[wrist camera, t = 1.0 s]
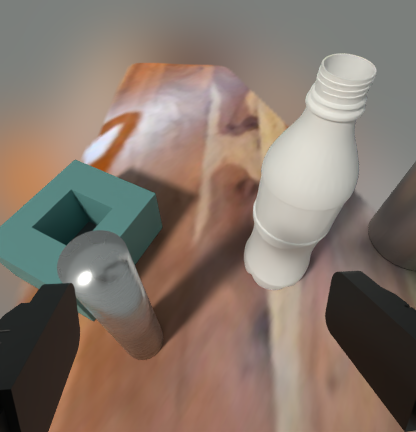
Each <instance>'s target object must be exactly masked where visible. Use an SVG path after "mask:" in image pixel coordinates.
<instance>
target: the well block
mask: <svg viewBox="0 0 416 432" xmlns="http://www.w3.org/2000/svg"><path fill="white" fill-rule="evenodd" d="M161 229H162V222H161V218H160V213H159V208H158V203H157V199H156V194H155V193H153V192H151V191H149V190H146V189H144V188H141V187H139V186H137V185H134V184H132V183H130V182H127V181H125V180H122V179H120V178H118V177H115V176H113V175H111V174H108V173H106V172H103V171H101V170H99V169H96V168H94V167H92V166H89V165H87V164H84V163H82V162H80V161H77V160H74V161H73V162H72V163H71V164H70V165H68V166H67V167H66V168H65V169H64V170H63V171H62V172H61V173H60V174H58V175H57V176H56V177H55V178H54V179H53V180H52V181H51V182H49V183H48V184H47V185H46V186H45V187H44V188H43V189H42V190H41V191H39V192H38V193H37V194H36V195H35V196H34V197H33V198H32V199H31V200H29V202H27V203H26V204H25V205H24V206H23V207H22V208H21V209H20V210H19V211H17V212H16V213H15V214H14V215H13V216H12V217H11V218H10V219H8V220H7V221H6V222H5V223H4V224H3V225H2V226H1V227H0V263H2V264H3V265H4V266H5V267H6V268H8V269H9V270H10V271H11V272H12V273H14V274H15V275H16V276H18V277H20V278H21V279H23V280H25V281H26V282H28V283H30V284H31V285H33V286H35V287H36V288H38V289H40V287H41V286H42V285H43V284H58V283H62V282H61V280H60V278H59V276H58V273H57V263H58V259H59V256H60V254H61V252H62V251H63V249H64V248H65V247H66V245H67V244H68V243H69V242H71V241H72V240H73V239H75V238H76V237H78V236H80V235H81V234H84V233H86V232H90V231H95V230H105V231H110V232H113V233H115V234H117V235H118V236H120V237H121V238H122V239H123V241H124V242H125V244H126V246H127V248H128V251H129V253H130V255H131V258H132V260H133V263H134V265H135V264H136V263H137V262H138V260H139V259H140V257H141V256H142V255H143V253H144V252H145V251H146V249H147V248H148V247H149V245H150V244H151V242H152V241H153V240H154V238H155V237H156V236H157V234H158V233H159V232H160V230H161ZM76 302H77V310H78V313H80V314H82V315H84V316H85V317H87V318H89V319H90V320H92V321H94V320H95V319H96V318H95V317H94V316H93V315H92V314H91V313H90V312H89V311H88V310H87V309H86V308H85V306H84V305H83V304H82V303H81V302H80V301H79V300H78V299H77V298H76Z"/></svg>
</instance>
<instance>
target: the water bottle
mask: <svg viewBox="0 0 416 432" xmlns="http://www.w3.org/2000/svg"><path fill="white" fill-rule="evenodd" d="M375 77H376V67H375V66H374V65H373V64H372V63H371V62H370V61H368V60H367V59H365V58H363V57H359V56H356V55H353V54H344V53H341V54H333V55H330V56H327V57H325V58H324V59H323V61H322V64H321V66H320V68H319V72H318V74H317V79H316V82H315V83H314V84H313V85H312V87H311V89H310V91H309V92H308V93H307V95H306V99H305V102H306V108H305V110H304V112H303V114H302V115H301V116H300V117H299V118H298V119H297V120H296V121H295V122H294V123H293V124H292V125H291V126H290V127H289V128H287V129H286V130H285V131H284V132H283V133H282V134H281V135H280V136H279V137H278V138H277V139H276V140H275V142H274V143H273V144H272V145H271V147H270V148H269V150H268V152H267V154H266V156H265V157H264V160H263V164H262V169H261V173H262V175H261V180H260V185H259V189H258V194H257V199H256V200H255V203H254V207H253V218H254V229H253V231H252V234H251V236H250V237H249V239H248V241H247V242H246V245H245V250H244V263H245V268H246V270H247V272H248V273H249V274H250V273H251V274H252V276H253V278H254V280H255V282H256V283H257V284H258V285H259V286H261V287H263V288H265V289H269V290H279V289H282V288H284V287H286V286H288V287H289V286H293V285H294V284H296V283H297V282H298V281H299V280H300V279H301V278H302V276H303V275H304V274H305V272H306V270H307V268H308V266H309V262H310V256H311V253H312V251H313V249H314V247H315V246H316V244H317V243H318V242H319V241H320V240H321V239H322V238H324V237H325V236H326V235H327V233H328V232H329V230H330V228H331V226H332V224H333V222H334V221H335V219H336V217H337V215H338V214H339V212H340V210H341V209H342V207H343V205H344V204H345V202H346V201H347V200H348V199H349V198H350V197H351V195H352V193H353V192H354V189H355V187H356V184H357V180H358V174H359V161H358V151H357V145H356V140H355V122H356V119H357V118H359V117H360V116H362V114H363V113H364V111H365V106H366V105H365V103H366V101H367V93H368V91H369V89H370V87H371V85H372V82H373V80H374V79H375Z"/></svg>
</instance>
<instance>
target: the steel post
mask: <svg viewBox="0 0 416 432" xmlns="http://www.w3.org/2000/svg"><path fill="white" fill-rule="evenodd" d="M57 273H58V276H59V278H60V280H61V282H62V283H72V284H73V285H74V288H75V294H76V298H77V299H78V300H79V301H80V302H81V303H82V304H83V305H84V306H85V308H86V309H87V310H88V311H89V312H90V313H91V314H92V315H93V316H94V317H95V318H96V319H97V320H98V321H99V322H100V324H101V325H102V326H103V327H104V328H105V329H106V330H107V331H108V332H109V333H110V334H111V335H112V336H113V337H114V338H115V340H116V341H117V342H118V343H119V344H120V345H121V346H122V347H123V348H124V349H125V350H126V351H127V352H128V353H129V354H130V355H131V356H132V357H133V358H135V359H138V360H147V359H150V358H152V357H153V356H155V355H156V354H157V353H158V352H159V350H160V349H161V347H162V344H163V332H162V329H161V327H160V325H159V322H158V320H157V317H156V315H155V313H154V310H153V308H152V306H151V303H150V301H149V298H148V296H147V294H146V291H145V289H144V286H143V284H142V282H141V279H140V277H139V275H138V272H137V270H136V267H135V265H134V263H133V260H132V258H131V255H130V253H129V251H128V248H127V246H126V244H125V242H124V241H123V239H122V238H121V237H120V236H118V235H117V234H115V233H113V232H110V231H105V230H95V231H90V232H86V233H84V234H81V235H80V236H78V237H76V238H75V239H73V240H72V241H71V242H69V243H68V244H67V245H66V247H65V248H64V249H63V251H62V252H61V254H60V256H59V259H58V263H57Z"/></svg>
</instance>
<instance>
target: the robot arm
mask: <svg viewBox="0 0 416 432" xmlns="http://www.w3.org/2000/svg"><path fill="white" fill-rule="evenodd" d="M368 232H369V237H370V240H371V242H372V244H373V245H374V247H375V248H376V249H377V251H378V252H379V253H380V254H381V255H382V256H383V257H385V258H386V259H387V260H389V261H390V262H392V263H394V264H396V265H398V266H400V267H402V268H406V269H409V270H415V271H416V162H415V163H414V164H413V166H412V167H411V168H410V169H409V171H408V172H407V173H406V175H405V176H404V177H403V179H402V180H401V181H400V183H399V184H398V185H397V187H396V188H395V189H394V190H393V192H392V193H391V194H390V196H389V197H388V198H387V200H386V201H385V202H384V203H383V205H382V206H381V207H380V209H379V210H378V211H377V213H376V214H375V215H374V217H373V218H372V219H371V221H370V223H369V227H368ZM325 318H326V324H327V327H328V330H329V332H330V333H331V335H332V336H333V337H334V339H335V340H336V341H337V343H338V344H339V345H340V347H341V348H342V349H343V351H344V352H345V353H346V355H347V356H348V357H349V359H350V360H351V361H352V363H353V364H354V365H355V366H356V368H357V369H358V370H359V372H360V373H361V374H362V376H363V377H364V378H365V380H366V381H367V382H368V384H369V385H370V386H371V388H372V389H373V390H374V392H375V393H376V394H377V396H378V397H379V398H380V400H381V401H382V402H383V404H384V405H385V406H386V408H387V409H388V410H389V411H390V413H391V414H392V415H393V417H394V418H395V419H396V421H397V422H398V423H399V425H400V426H401V427H402V429H403V430H404V431H405V432H407V431H415V430H416V310H415V309H414V308H412V307H411V308H410V307H409V305H408V304H407V303H406V302H405V301H403V300H402V299H401V298H400V297H398V296H397V295H396V294H394V293H392V292H390V291H388V290H386V289H384V288H382V287H380V286H379V285H378V284H377V283H375V282H374V281H373V280H372V279H370V278H369V277H368V276H367V275H365V274H364V273H363V272H361V271H347V272H336V273H335V274H334V275H333V277H332V280H331V286H330V291H329V296H328V302H327V307H326V313H325ZM79 340H80V326H79V318H78V310H77V302H76V294H75V288H74V285H73V284H72V283H58V284H43V285H42V286H41V287H40V289H39V290H38V291H37V293H36V294H35V296H34V297H33V299H32V300H31V301H30V303H21V304H19V305H18V306H16V307H15V308H14V309H12V310H11V311H9V312H8V313H6V314H5V315H4V316H3V317H2V318H1V319H0V432H48V431H49V428H50V425H51V423H52V420H53V417H54V414H55V412H56V409H57V406H58V403H59V400H60V398H61V395H62V392H63V389H64V387H65V384H66V381H67V378H68V376H69V373H70V370H71V367H72V364H73V362H74V359H75V356H76V353H77V350H78V346H79Z"/></svg>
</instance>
